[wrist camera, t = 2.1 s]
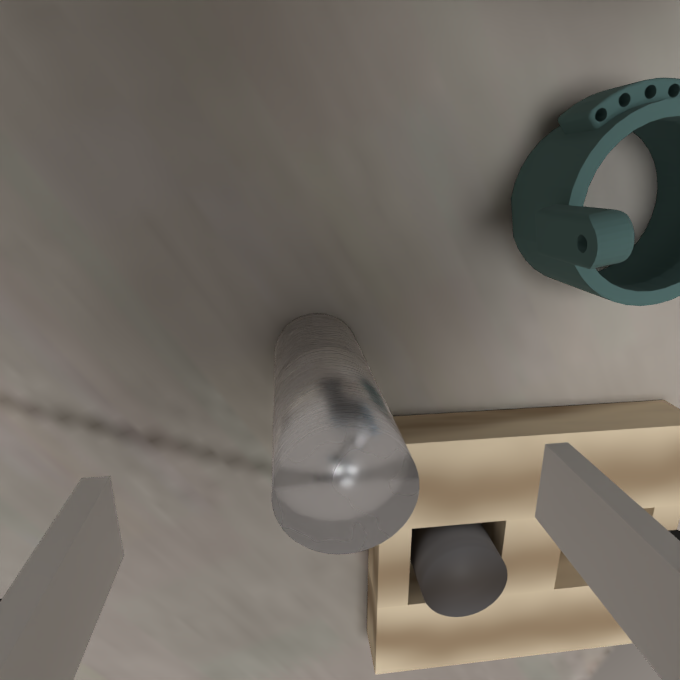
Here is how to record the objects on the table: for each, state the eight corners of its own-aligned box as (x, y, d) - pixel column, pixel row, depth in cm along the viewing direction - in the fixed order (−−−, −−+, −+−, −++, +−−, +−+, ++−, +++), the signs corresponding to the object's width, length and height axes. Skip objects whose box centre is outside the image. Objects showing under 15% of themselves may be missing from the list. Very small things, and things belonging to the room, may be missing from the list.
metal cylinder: (272, 315, 24) (267, 432, 13) (358, 311, 25) (423, 422, 14) (276, 393, 26) (275, 560, 15) (357, 389, 26) (415, 547, 15)
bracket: (698, 185, 25) (910, 186, 17) (572, 318, 27) (708, 382, 18) (593, 56, 23) (781, -20, 14) (460, 212, 24) (558, 228, 16)
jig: (371, 417, 27) (387, 461, 23) (663, 399, 29) (727, 436, 25) (366, 630, 32) (380, 697, 28) (615, 603, 34) (662, 661, 30)
